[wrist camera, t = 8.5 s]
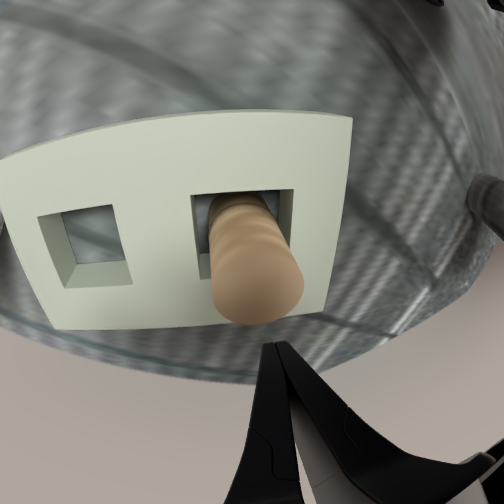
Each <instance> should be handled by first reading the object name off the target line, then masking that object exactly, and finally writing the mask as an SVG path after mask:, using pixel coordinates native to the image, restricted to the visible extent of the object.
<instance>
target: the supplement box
mask: <svg viewBox="0 0 504 504" xmlns="http://www.w3.org/2000/svg"><path fill="white" fill-rule="evenodd" d="M3 224H4V217H3V214H2V211H1V208H0V235H1V231H2V228H3Z"/></svg>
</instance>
